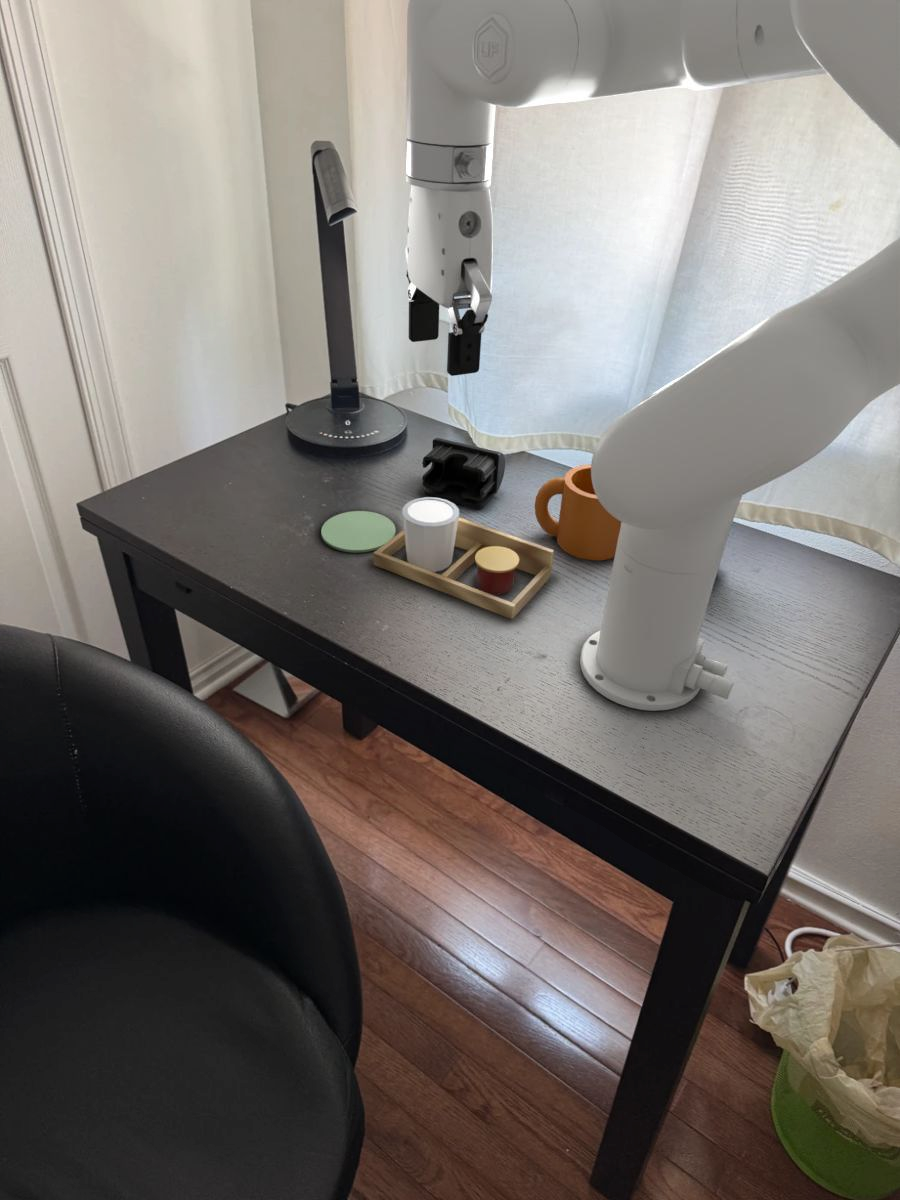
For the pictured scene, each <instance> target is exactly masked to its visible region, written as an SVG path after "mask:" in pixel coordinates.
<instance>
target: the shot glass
mask: <svg viewBox="0 0 900 1200" xmlns="http://www.w3.org/2000/svg"><path fill="white" fill-rule="evenodd" d="M401 513H402V524H403V530H404V534H405V544H406V545H405V551H406V553H405V554H406V560H407V561H406V562H408V563H410V564H413V565H415V566H418V567H421V568H423V569H426V570H428V571H431V572H434V573H436V572H440V571H444V570H445V569H448V568H450V566H451V565H452V563H453V557H454V550H455V546H454V545H455V538H456V532H457V525H458V519H459V517H460V509H459V507H458V506H457V505H456V503H453V502H450V501H448V500H445V499H441V498H436V497H430V496H425V497H418V498H415V499H412V500H410V501H408V502H407V503H406V504H405V505H404V506H403V507H402V512H401Z"/></svg>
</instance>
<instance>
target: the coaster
mask: <svg viewBox="0 0 900 1200" xmlns="http://www.w3.org/2000/svg"><path fill="white" fill-rule="evenodd" d="M320 532H321V533H320V535H321V539H322V540H323V542H324V543H325V544H327V546H329V547H331V548H333V549H335V550H338V551H341V552H345V553H353V554H355V553H356V554H358V553H370V552H375V551H377V550H378V549H379V548H380V547H382V546H383V545H384V544H386V543H387V542H388V541H390V540H391V539H392V538H393V537H395V536H396V535H397V534H396V532H397V531H396V526H395V523H394V522H393V521H392V520H391V519H390V518H389V517H387V516H385V515H383V514H380V513H377V512H373V511H368V510H351V511H346V512H341V513H339V514H336V515H333V516H331V517H330V518H329V519H327V520H326V521H324V523H323V525H322V526H321V530H320Z"/></svg>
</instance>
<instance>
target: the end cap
mask: <svg viewBox="0 0 900 1200" xmlns="http://www.w3.org/2000/svg"><path fill="white" fill-rule="evenodd" d="M421 464H422V468H423V469H426V468H428V467H429V465H431V466H430V467H429V469H428V470H427V471H426V472H425V473H424V474H423V475H422V477H421V479H422V486H423V487H424V489H423V494H424V496H425V497H436V498H441V499H445V500H448V501H450V502H452V503H454V504H458V505H461V506H465V507H469V508H473V509H475V510H476V509H477V510H482V509H484V508H485V507H486V506H487V504H488V503H489V502H490V501H491V500H492V498H493V497H494V495H496V494H497V493H498V491H499V489H500V487H501V485H502V483H503V479H504V476H505V471H506V470H505V469H506V457H505V454H504V453H503V452H502V451H497V450H493V449H488V448H484V447H480V446H476V445H471V444H467V443H462V442H458V441H453V440H450V439H445V438H441V437H436V438H434V439H432V449H431V450H430V451H429V452H428V453H427V454H426V455H425V456H424V457H423V458H422V463H421Z"/></svg>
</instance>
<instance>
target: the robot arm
mask: <svg viewBox="0 0 900 1200" xmlns="http://www.w3.org/2000/svg"><path fill="white" fill-rule="evenodd" d="M406 15H407V16H406V139H405V141H406V143H405V144H406V147H405V148H406V153H405V155H406V159H405V164H406V167H405V168H406V169H405V171H406V173H405V182H406V183H407V184H409V185H410V193H409V203H408V204H409V205H408V218H407V240H406V241H407V242H406V246H405V258H406V264H407V270H406V274H405V275H406V278H407V281H408V284H409V286H408V288H407V298H408V300H409V301H408V340H410V341H411V343H417V342H418V343H419V342H427V341H435V340H437V339H438V338H439V332H440V331H439V329H440V306H441V307H444V308H446V309H447V314H448V317H449V321H450V326H451V330H452V331H451V332H448V333H447V360H446V361H447V362H446V373H447V374H448V375H449V376H451V377H454V376H455V377H456V376H461V375H470V374H476V373H478V372H479V371H480V363H481V362H480V361H481V347H482V335H483V333H484V332H485V324H486V323H487V321H488V318H489V314H488V313H489V309H490V307H491V304H492V302H493V295H492V288H493V264H494V263H493V257H494V229H493V227H494V226H493V223H494V222H493V207H492V206H493V205H492V197H491V196H492V195H491V189H490V188H489V187H490V186H491V183H492V168H493V167H492V165H493V151H494V136H495V135H494V134H495V133H494V131H495V117H496V106H498V107H502V108H514V109H515V108H526V107H535V106H542V105H550V104H558V103H559V104H560V103H561V104H562V103H573V102H581V101H588V100H593V99H594V100H595V99H601V98H607V97H613V96H621V95H629V94H634V93H642V92H650V91H651V92H652V91H657V90H658V91H659V90H667V89H674V88H685V89H686V88H687V89H690V90H692V91H706V90H714V89H723V88H728V87H735V86H743V85H750V84H752V85H753V84H758V83H765V82H772V81H780V80H788V79H794V78H802V77H811V76H818V75H825V74H826V75H828V76H829V78H831V80H832V81H833V82H834V83H835V84H836V85H837V87H838V88H839V89H840V90H841V91H842V92H843V93H844V95H846V96H847V98H848V99H849V100H850V101H851V102H852V103H853V104H854V105H855V107H857V108H858V109H859V110H860V111H861V112H862V113H863V114H864V115H865V116H866V117H867V118H868V119H869V120H870V121H871V122H872V123H873V124H874V125H875V126H876V127H877V128H878V129H879V130H880V131H881V132H882V133H883V134H884V135H885V136H886V137H887V138H888V139H889V140H890V141H891V142H892V144H893V145H895V147H897V149H898V150H900V0H409V1H408V4H407V13H406ZM457 297H458V298H457ZM464 309H465V310H466V309H467V310H466V311H465V313H464V314H463V315H462V317H461V314H460V310H464ZM899 385H900V237H898V238H897V239H896V240H894V241H892V242H891V243H890V244H889V245H887V246H885V247H884V248H883V249H882V250H880V251H879V252H878V253H876V254H875V255H873V256H872V257H871V258H869V259H868V260H866V261H864V262H863V263H861V264H860V265H859V266H857V267H855V268H853V269H852V270H850V271H849V272H848V273H846V274H845V275H843V276H842V277H840V278H839V279H837V280H835V281H834V282H831V284H829V285H827V286H826V287H824V288H822V289H821V290H819V291H817V292H815V293H814V294H812V295H811V296H808V297H807V298H805V299H803V300H801V301H800V302H797V303H795V304H792V305H791V306H788V307H786V308H784V309H782V310H780V311H778V312H776V313H774V314H773V315H771V316H769V317H768V318H766V319H765V320H763V321H761V322H760V323H758V324H757V325H755V326H754V327H752V328H751V329H749V330H748V331H746V332H745V333H743V334H742V335H740V336H739V337H737V338H736V339H735V340H733V341H731V342H729V344H727V345H726V346H724V347H723V348H721V349H719V350H718V351H716V353H714V354H712V355H711V356H709V357H708V358H707V359H705V360H703V361H702V362H701V363H699V364H697V365H696V366H695V367H693V368H692V369H690V370H689V371H686V373H684V374H683V375H682V376H679V377H678V378H676V379H674V380H672V381H671V382H669V383H667V384H665V385H664V386H663V387H661V388H659V389H658V390H656V391H655V392H653V393H652V394H650V395H649V396H648V397H646V398H645V399H644V400H643V401H641V402H640V403H639V404H637V405H635V406H634V407H632V408H631V409H630V410H629V411H626V412H625V413H624V414H621V416H619V417H617V418H616V419H615V420H614V421H613V422H611V423H610V425H608V426H607V428H606V429H605V430H604V431H603V433H602V434H601V436H600V438H599V439H598V441H597V443H596V445H595V447H594V451H593V453H592V456H591V457H592V458H591V463H590V464H591V478H592V484H593V488H594V491H595V494H596V496H597V498H598V500H599V502H600V503H601V505H602V506H603V507H604V508H605V509H606V511H607V512H608V513H610V514H611V515H612V516H613V517H615V518H616V519H618V520H619V521H621V522H622V523H621V528H620V533H619V537H618V542H617V547H616V552H615V557H613V563H612V569H611V572H610V573H611V574H610V579H609V584H608V590H607V594H606V595H607V596H606V601H605V605H604V610H603V614H602V615H603V616H602V621H601V625H600V626H601V627H600V629H599V630H598V631H596V632H594V633H592V634H591V635H590V636H589V637H588V638H587V639H586V640H585V642H584V643H583V645H582V648H581V652H580V657H579V664H580V670H581V672H582V674H583V677H584V678H585V680H586V681H587V683H588V684H589V685H590V686H591V687H592V688H593V689H594V690H595V691H596V692H597V693H599V694H600V695H602V696H603V697H604V698H607V699H608V700H609V701H612V702H614V703H616V704H619V705H621V706H624V707H627V708H630V709H636V710H640V711H651V712H657V711H668V710H672V709H676V708H679V707H681V706H684V705H686V704H688V703H689V702H691V701H692V700H693V699H694V698H695V697H696V696H697V695H698V693H699V691H700V690H704V691H707V692H709V694H712V695H714V696H716V697H719V698H722V699H724V700H728V699H729V697H730V695H731V692H732V691H733V686H734V683H735V680H732V679H730V678H727V677H725V675H726V673H727V670H728V668H729V665H728V664H726V663H723V662H722V661H719V660H713V659H711V658H709V657H707V654H705V653H703V652H702V650H703V647H704V644H705V639H704V638H702V637H700V633H701V631H702V626H703V622H704V619H705V616H706V612H707V609H708V605H709V601H710V599H711V595H712V593H713V592H712V591H713V588H714V586H715V585H714V584H715V582H716V578H717V575H718V573H717V571H719V569H718V567H719V568H720V565H721V562H722V559H723V555H724V551H725V549H726V544H727V541H728V538H729V535H730V531H731V528H732V525H733V522H734V519H735V516H736V514H737V511H738V508H739V505H740V502H741V500H742V497H743V496H744V495H746V494H748V493H750V492H752V491H754V490H756V489H758V488H760V487H762V486H764V485H767V484H769V483H770V482H772V481H774V480H776V479H778V478H780V477H782V476H784V475H786V474H788V473H790V472H792V471H793V470H795V469H797V468H798V467H800V466H802V465H804V464H805V463H807V462H808V461H810V460H811V459H813V458H814V457H816V456H817V455H819V454H820V453H821V452H822V451H824V450H825V449H827V447H829V446H830V445H831V444H832V443H833V442H834V441H835V440H836V439H837V438H838V437H839V436H840V435H841V434H842V432H843V431H844V430H845V429H846V428H847V427H848V425H849V424H851V422H852V421H853V420H854V419H855V418H856V417H857V416H858V415H859V414H860V413H861V412H862V411H863V410H864V409H865V408H866V407H867V406H868V405H869V404H870V403H871V402H873V401H874V400H876V399H878V397H881V396H882V395H884V394H886V393H887V392H888V391H890V390H892V389H894V388H895V387H897V386H899ZM720 561H721V562H720ZM719 564H720V565H719ZM716 574H717V575H716Z"/></svg>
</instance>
